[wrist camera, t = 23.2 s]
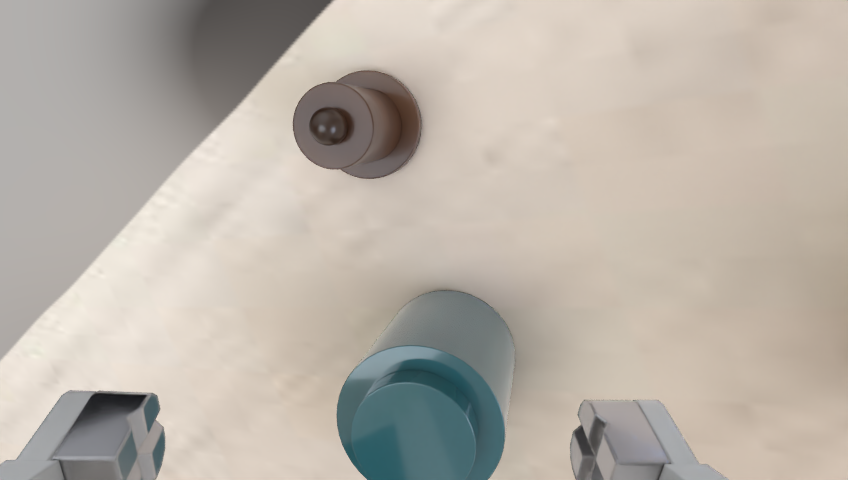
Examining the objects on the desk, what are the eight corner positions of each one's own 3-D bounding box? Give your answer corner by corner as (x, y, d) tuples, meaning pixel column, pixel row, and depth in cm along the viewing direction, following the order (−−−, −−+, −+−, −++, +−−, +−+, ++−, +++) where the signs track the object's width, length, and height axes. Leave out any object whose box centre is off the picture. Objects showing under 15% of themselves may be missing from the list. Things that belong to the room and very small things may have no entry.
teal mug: (417, 267, 39) (365, 325, 28) (538, 328, 38) (535, 412, 27) (352, 407, 42) (283, 508, 31) (463, 466, 41) (432, 592, 30)
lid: (344, 53, 37) (287, 34, 29) (439, 99, 36) (407, 92, 28) (306, 150, 39) (242, 157, 31) (395, 195, 38) (353, 215, 30)
